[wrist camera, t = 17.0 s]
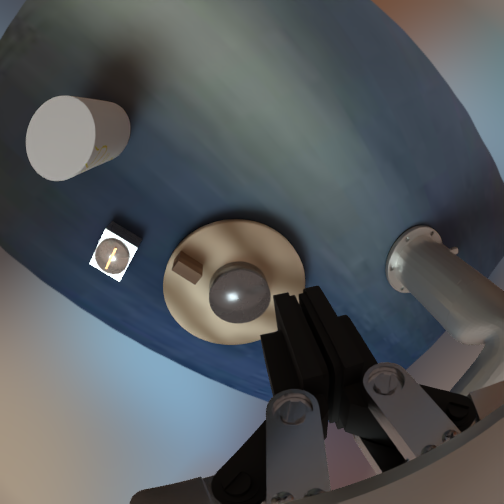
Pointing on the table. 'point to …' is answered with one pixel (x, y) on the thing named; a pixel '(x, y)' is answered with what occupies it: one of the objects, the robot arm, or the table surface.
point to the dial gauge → (115, 250)
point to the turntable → (216, 255)
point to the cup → (75, 136)
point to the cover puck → (239, 292)
